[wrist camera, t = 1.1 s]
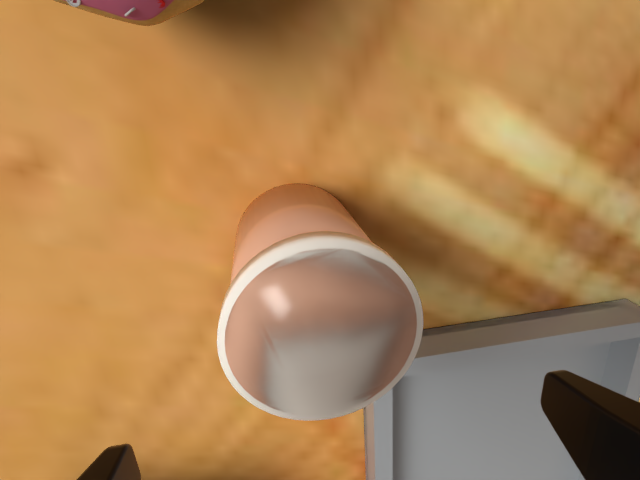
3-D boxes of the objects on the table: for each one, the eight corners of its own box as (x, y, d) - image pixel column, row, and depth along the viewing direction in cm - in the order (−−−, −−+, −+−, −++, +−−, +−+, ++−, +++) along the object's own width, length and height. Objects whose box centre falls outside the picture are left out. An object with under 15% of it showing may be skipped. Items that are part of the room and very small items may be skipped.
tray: (626, 298, 23) (661, 318, 21) (571, 527, 30) (593, 558, 28) (361, 339, 21) (372, 365, 19) (369, 573, 28) (378, 610, 26)
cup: (355, 172, 18) (426, 228, 11) (359, 289, 20) (421, 402, 13) (222, 186, 17) (199, 255, 10) (240, 305, 20) (233, 435, 12)
